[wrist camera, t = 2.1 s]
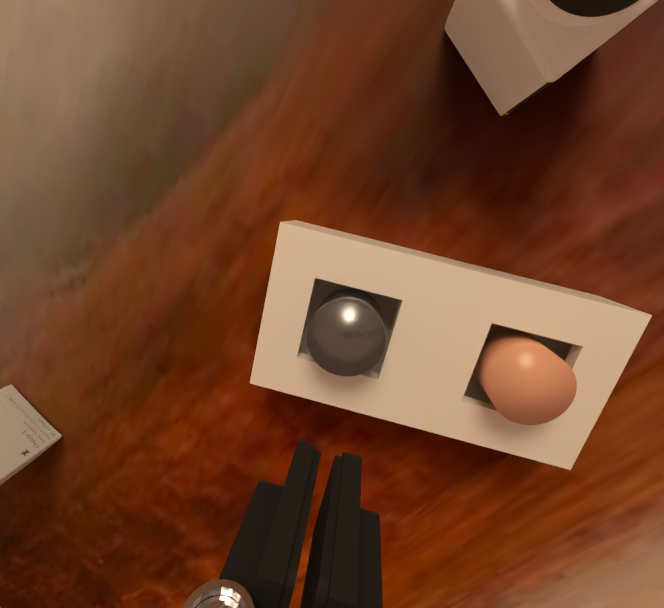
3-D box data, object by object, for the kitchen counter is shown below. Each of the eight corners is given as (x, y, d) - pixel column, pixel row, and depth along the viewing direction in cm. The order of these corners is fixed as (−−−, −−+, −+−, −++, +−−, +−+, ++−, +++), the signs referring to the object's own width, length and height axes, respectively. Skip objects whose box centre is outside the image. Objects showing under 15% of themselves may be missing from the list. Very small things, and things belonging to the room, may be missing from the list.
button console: (600, 296, 26) (652, 315, 21) (537, 427, 29) (570, 470, 25) (296, 220, 27) (280, 222, 22) (268, 356, 30) (249, 383, 26)
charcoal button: (391, 298, 25) (395, 313, 21) (372, 359, 26) (373, 385, 22) (324, 280, 25) (316, 293, 21) (309, 342, 26) (299, 365, 23)
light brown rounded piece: (556, 340, 24) (591, 364, 21) (528, 400, 26) (556, 433, 22) (486, 322, 25) (508, 343, 21) (463, 383, 26) (479, 413, 22)
